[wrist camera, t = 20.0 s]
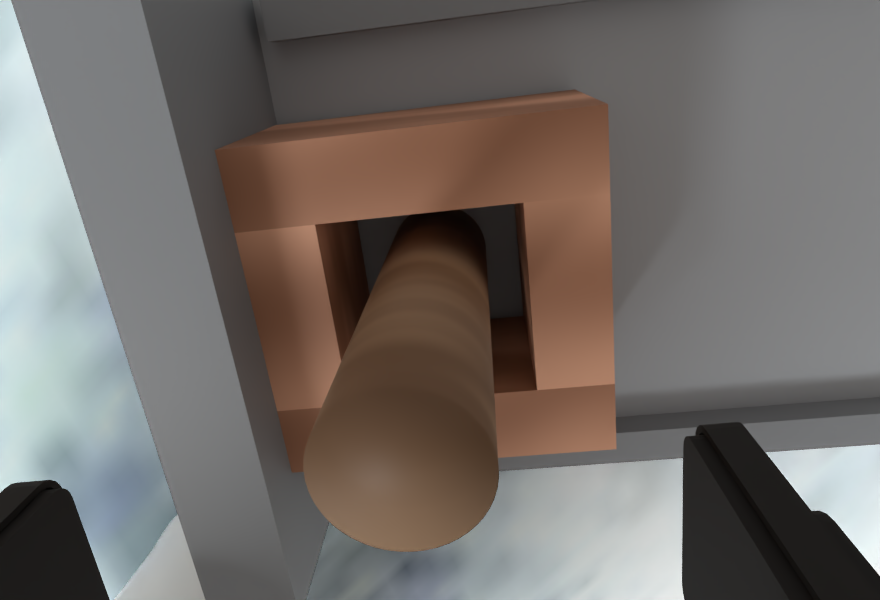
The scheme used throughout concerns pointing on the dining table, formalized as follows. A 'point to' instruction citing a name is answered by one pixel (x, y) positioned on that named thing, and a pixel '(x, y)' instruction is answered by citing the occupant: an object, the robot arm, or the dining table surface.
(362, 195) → the block
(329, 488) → the dowel
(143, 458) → the dining table surface
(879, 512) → the dining table surface
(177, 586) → the drinking glass
